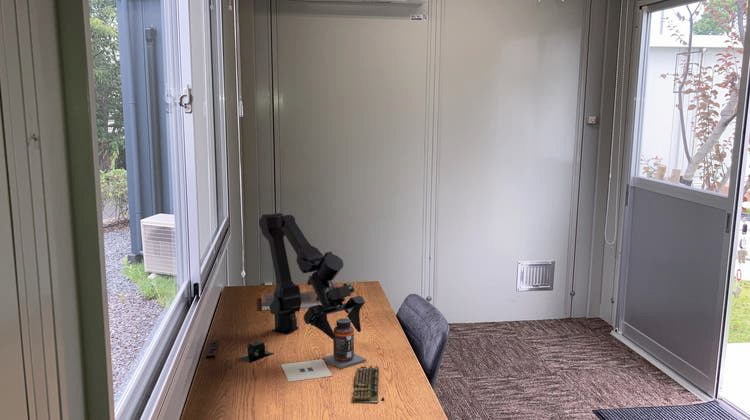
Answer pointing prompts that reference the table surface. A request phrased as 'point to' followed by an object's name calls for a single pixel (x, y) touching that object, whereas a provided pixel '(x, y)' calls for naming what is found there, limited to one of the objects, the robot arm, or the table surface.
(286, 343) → the table surface
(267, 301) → the picture frame
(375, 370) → the keyboard
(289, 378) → the card
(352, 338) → the supplement bottle
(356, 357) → the slate coaster
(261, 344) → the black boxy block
